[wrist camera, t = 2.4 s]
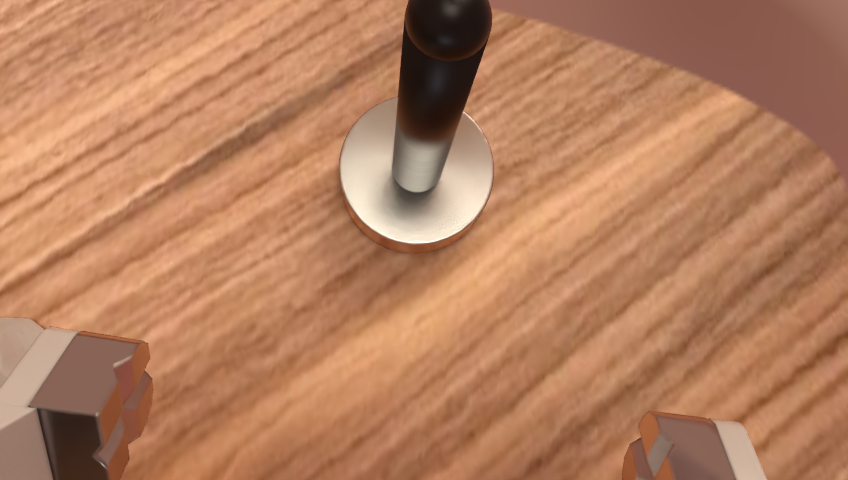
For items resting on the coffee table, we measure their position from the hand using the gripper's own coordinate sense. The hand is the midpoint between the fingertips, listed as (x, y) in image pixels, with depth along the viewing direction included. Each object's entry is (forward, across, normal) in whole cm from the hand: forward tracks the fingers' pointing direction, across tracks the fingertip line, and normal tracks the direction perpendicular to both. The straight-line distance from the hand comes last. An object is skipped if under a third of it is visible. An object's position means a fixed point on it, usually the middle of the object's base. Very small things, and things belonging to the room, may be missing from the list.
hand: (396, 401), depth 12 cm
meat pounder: (+16, 0, +5) cm, 17 cm away
